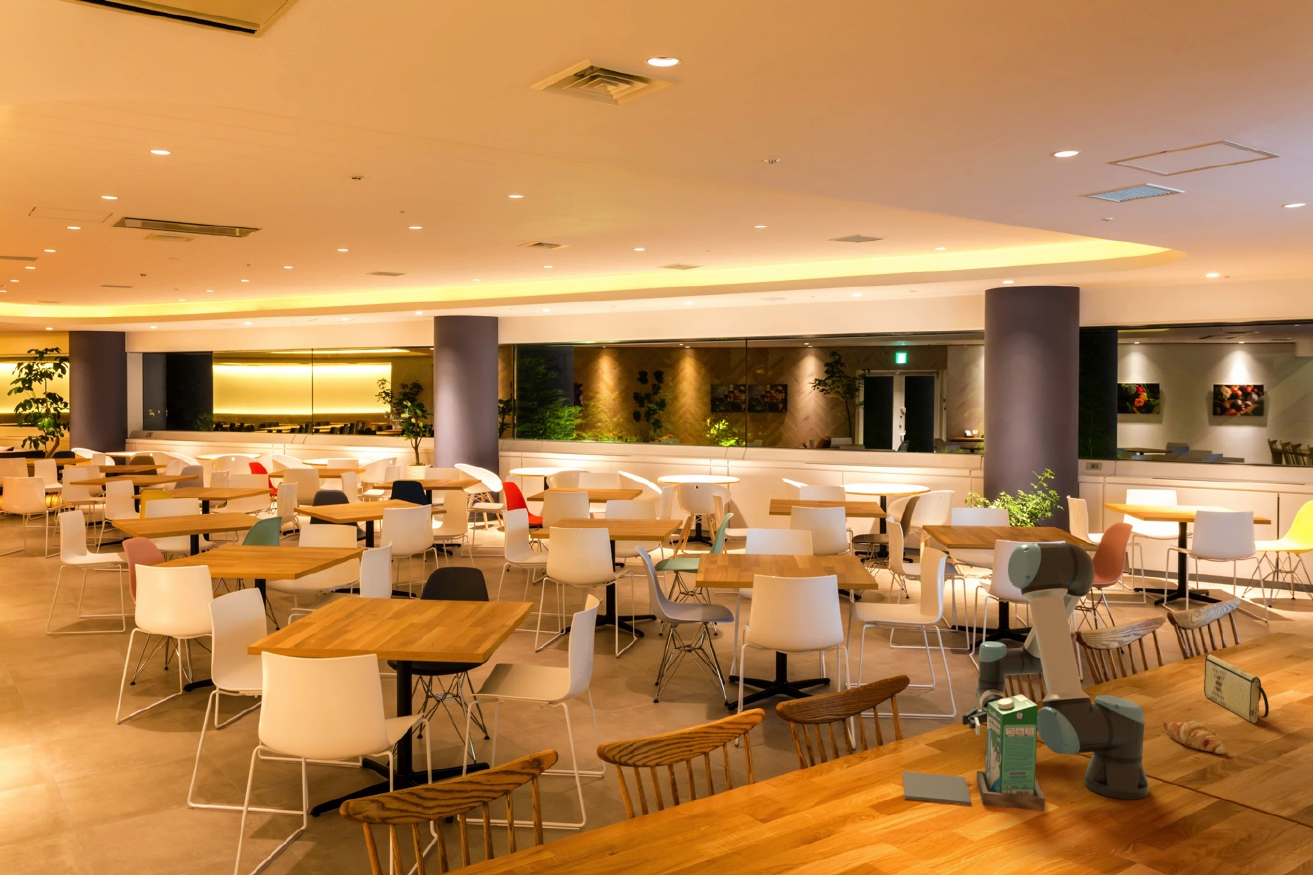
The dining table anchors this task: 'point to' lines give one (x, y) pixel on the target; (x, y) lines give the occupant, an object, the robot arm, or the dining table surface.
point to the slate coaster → (936, 788)
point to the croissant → (1194, 736)
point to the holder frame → (1010, 797)
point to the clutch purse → (1233, 688)
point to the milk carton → (1011, 746)
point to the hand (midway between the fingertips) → (1005, 732)
